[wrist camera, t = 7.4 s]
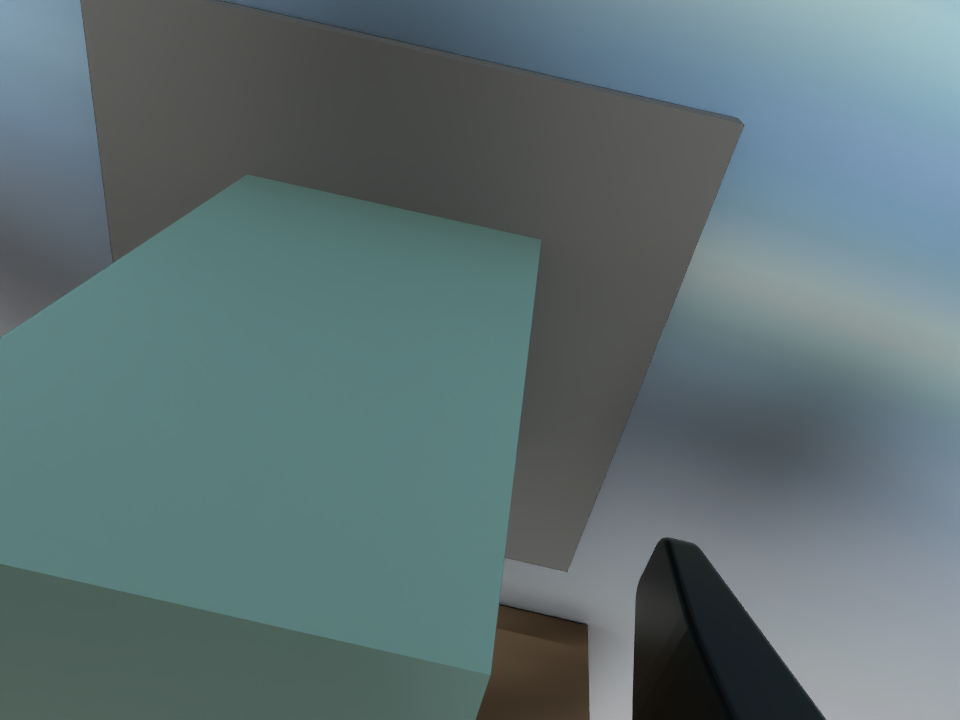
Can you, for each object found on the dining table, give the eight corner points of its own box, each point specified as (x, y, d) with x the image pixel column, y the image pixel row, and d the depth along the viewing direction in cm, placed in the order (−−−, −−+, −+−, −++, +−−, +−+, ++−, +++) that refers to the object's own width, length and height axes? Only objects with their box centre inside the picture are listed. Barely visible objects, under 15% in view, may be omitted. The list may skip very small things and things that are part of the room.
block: (484, 463, 12) (401, 944, 6) (248, 410, 12) (-59, 838, 6) (541, 239, 10) (491, 674, 4) (247, 173, 10) (-255, 505, 4)
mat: (737, 117, 9) (744, 124, 9) (567, 556, 14) (567, 572, 13) (95, -28, 9) (77, -28, 9) (149, 460, 14) (139, 473, 13)
